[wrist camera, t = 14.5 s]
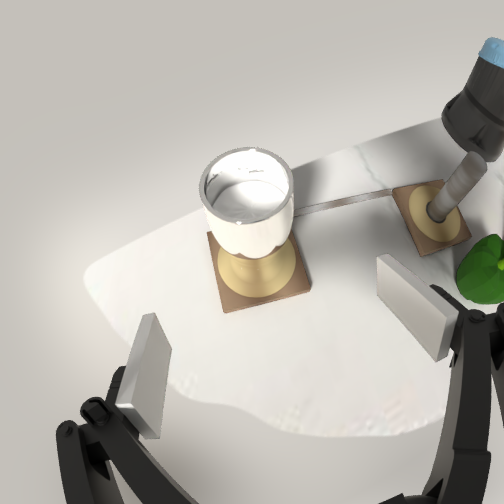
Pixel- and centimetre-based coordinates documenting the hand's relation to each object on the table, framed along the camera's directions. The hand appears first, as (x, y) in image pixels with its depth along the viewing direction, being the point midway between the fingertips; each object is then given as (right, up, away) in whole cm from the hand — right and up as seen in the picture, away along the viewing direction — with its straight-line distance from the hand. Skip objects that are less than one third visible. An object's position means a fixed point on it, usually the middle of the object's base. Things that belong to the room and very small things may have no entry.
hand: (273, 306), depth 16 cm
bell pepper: (+29, -1, +16) cm, 33 cm away
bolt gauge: (+12, +5, +19) cm, 23 cm away
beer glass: (-1, +2, +18) cm, 18 cm away
